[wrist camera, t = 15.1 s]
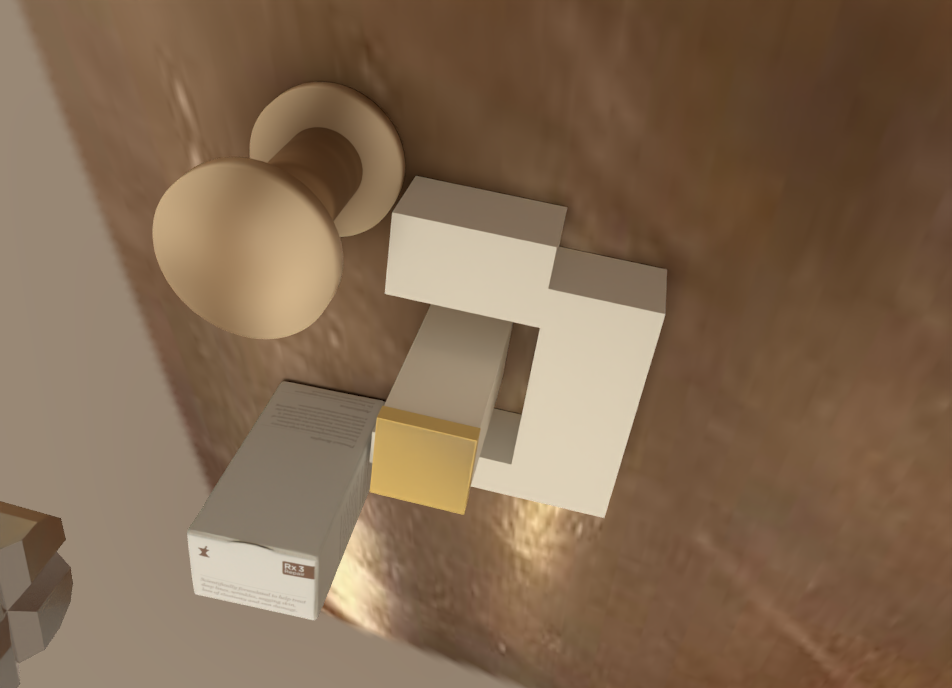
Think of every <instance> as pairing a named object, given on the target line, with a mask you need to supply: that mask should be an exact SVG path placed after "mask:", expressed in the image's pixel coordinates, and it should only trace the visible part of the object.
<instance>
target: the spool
mask: <svg viewBox="0 0 952 688" xmlns="http://www.w3.org/2000/svg"><path fill="white" fill-rule="evenodd" d="M404 177H405V155H404V150H403V146H402V143H401V140H400V138H399V135H398V133H397V131H396V129H395V127H394V125H393V124H392V122H391V121H390V119H389V118H388V117H387V115H386V114H385V113H384V112H383V111H382V110H381V108H379V107H378V106H377V105H376V104H375V103H374V102H373V101H372V100H370V99H369V98H367V97H366V96H365V95H363V94H361V93H360V92H358V91H356V90H354V89H352V88H349V87H347V86H344V85H340V84H337V83H331V82H309V83H304V84H300V85H297V86H294V87H292V88H290V89H288V90H286V91H285V92H284V93H282V94H281V95H279V96H278V97H277V98H276V99H274V100H273V101H272V102H271V103H270V104H269V105H268V106H267V107H266V108H265V109H264V110H263V111H262V113H261V114H260V115H259V117H258V119H257V121H256V123H255V125H254V128H253V130H252V134H251V139H250V158H244V157H224V158H217V159H213V160H209V161H206V162H204V163H202V164H200V165H197V166H196V167H194V168H193V169H191V170H190V171H188V172H187V173H186V174H185V175H184V176H182V177H181V178H180V179H179V180H178V181H176V182H175V183H174V184H173V185H172V186H171V187H170V188H169V189H168V190H167V191H166V193H165V194H164V195H163V197H162V198H161V200H160V202H159V204H158V206H157V209H156V212H155V216H154V221H153V244H154V250H155V253H156V257H157V261H158V263H159V265H160V268H161V270H162V272H163V274H164V276H165V278H166V280H167V281H168V283H169V284H170V286H171V287H172V289H173V290H174V292H175V293H176V294H177V295H178V296H179V297H180V299H181V300H182V301H183V302H184V303H185V304H186V305H187V306H188V307H189V308H190V309H191V310H193V311H194V312H195V313H197V314H198V315H199V316H200V317H202V318H203V319H205V320H206V321H208V322H209V323H211V324H213V325H215V326H217V327H219V328H221V329H223V330H225V331H228V332H230V333H233V334H237V335H240V336H244V337H249V338H255V339H276V338H282V337H287V336H290V335H293V334H296V333H298V332H300V331H302V330H304V329H306V328H307V327H308V326H310V325H311V324H313V323H314V322H315V321H316V320H317V319H318V318H319V317H320V316H321V314H322V313H323V311H324V310H325V309H326V307H327V306H328V304H329V302H330V301H331V299H332V298H333V296H334V295H335V293H336V291H337V289H338V287H339V284H340V281H341V277H342V271H343V250H342V244H341V240H340V237H346V236H352V235H356V234H359V233H362V232H364V231H367V230H368V229H370V228H372V227H374V226H375V225H376V224H378V223H379V222H380V221H381V220H382V219H383V218H384V217H385V216H386V215H387V213H388V212H389V210H390V209H391V207H392V206H393V204H394V203H395V201H396V200H397V198H398V196H399V194H400V192H401V189H402V186H403V183H404Z"/></svg>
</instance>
